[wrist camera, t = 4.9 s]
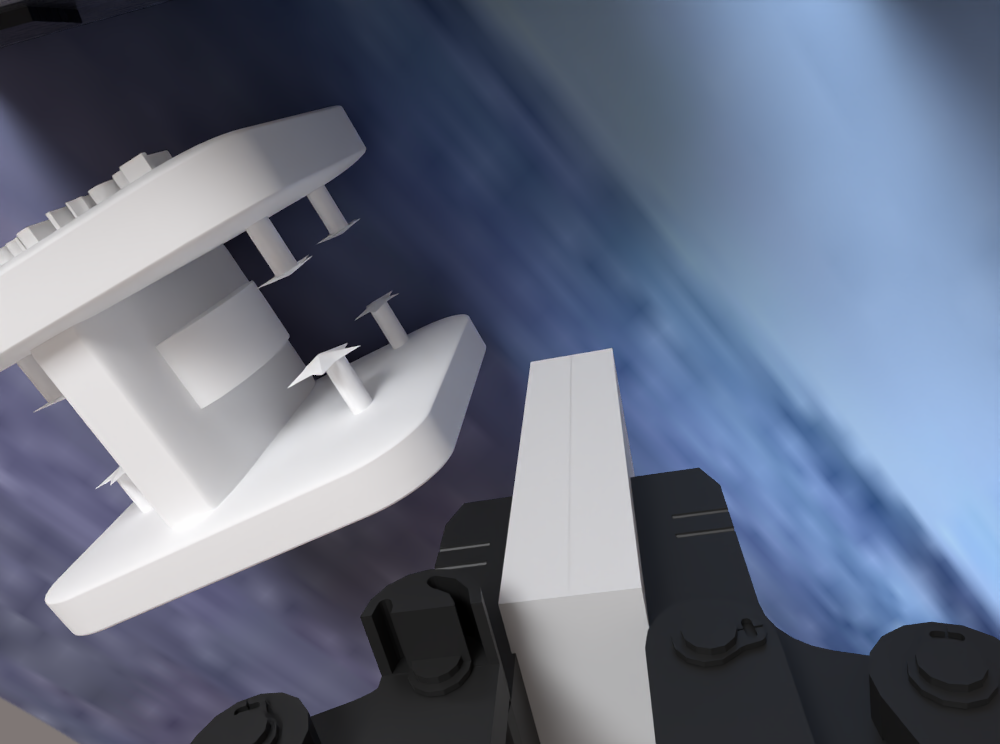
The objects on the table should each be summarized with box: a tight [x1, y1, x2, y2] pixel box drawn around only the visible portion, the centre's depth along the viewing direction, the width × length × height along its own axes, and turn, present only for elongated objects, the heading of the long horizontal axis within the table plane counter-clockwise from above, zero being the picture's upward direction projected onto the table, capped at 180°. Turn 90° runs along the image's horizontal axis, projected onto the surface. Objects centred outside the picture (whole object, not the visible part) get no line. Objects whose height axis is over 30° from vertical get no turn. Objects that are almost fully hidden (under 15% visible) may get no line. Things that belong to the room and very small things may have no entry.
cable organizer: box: [0, 105, 486, 636], centre depth 25 cm, size 15×11×12 cm
